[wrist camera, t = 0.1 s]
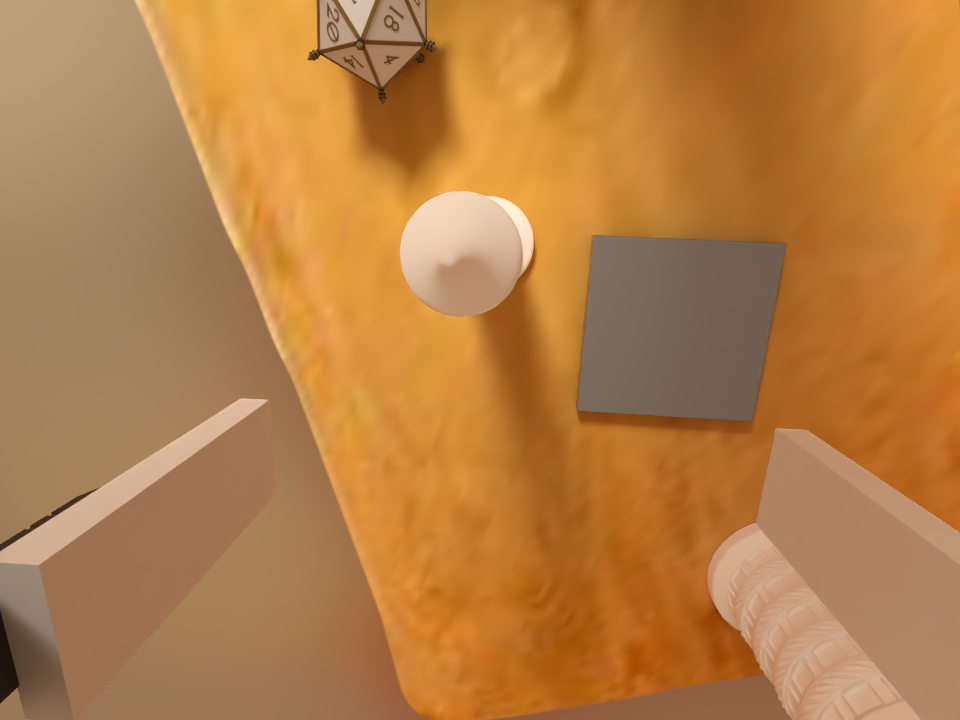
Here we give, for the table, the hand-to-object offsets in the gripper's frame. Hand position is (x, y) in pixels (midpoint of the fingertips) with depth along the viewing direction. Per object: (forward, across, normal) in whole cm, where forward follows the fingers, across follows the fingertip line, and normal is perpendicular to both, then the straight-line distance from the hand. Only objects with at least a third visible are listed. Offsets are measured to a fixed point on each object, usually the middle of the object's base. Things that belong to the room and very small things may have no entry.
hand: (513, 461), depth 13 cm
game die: (+28, -10, +19) cm, 35 cm away
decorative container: (+28, +25, -23) cm, 44 cm away
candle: (+28, -2, +5) cm, 29 cm away
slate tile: (+28, +13, -1) cm, 31 cm away
